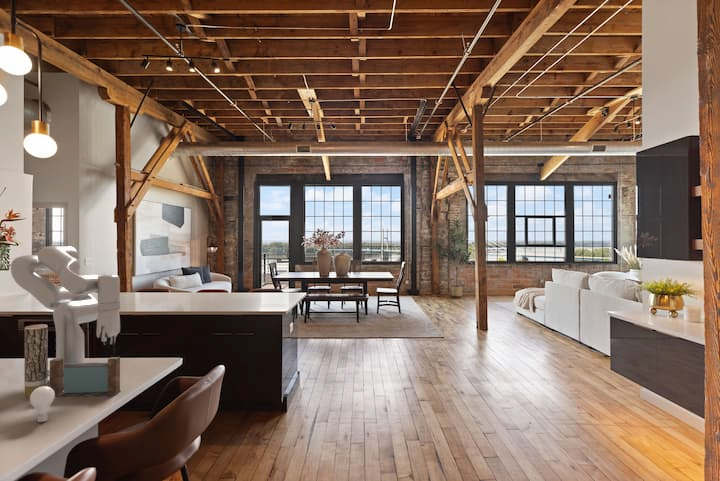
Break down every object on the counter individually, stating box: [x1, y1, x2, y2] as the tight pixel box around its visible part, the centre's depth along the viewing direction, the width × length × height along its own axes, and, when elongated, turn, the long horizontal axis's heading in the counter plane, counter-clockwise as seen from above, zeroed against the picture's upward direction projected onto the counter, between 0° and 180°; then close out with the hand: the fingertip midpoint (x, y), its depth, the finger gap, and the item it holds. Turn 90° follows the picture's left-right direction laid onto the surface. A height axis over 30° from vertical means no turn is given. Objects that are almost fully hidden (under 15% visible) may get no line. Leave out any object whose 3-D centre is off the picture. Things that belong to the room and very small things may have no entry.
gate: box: [63, 362, 108, 393], centre depth 163 cm, size 16×2×10 cm, turn 96°
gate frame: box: [49, 356, 122, 398], centre depth 163 cm, size 23×4×13 cm, turn 96°
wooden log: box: [23, 323, 49, 399], centre depth 162 cm, size 7×7×25 cm
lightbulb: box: [29, 386, 56, 424], centre depth 138 cm, size 6×6×11 cm
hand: (109, 354), depth 172 cm, fingers closed
